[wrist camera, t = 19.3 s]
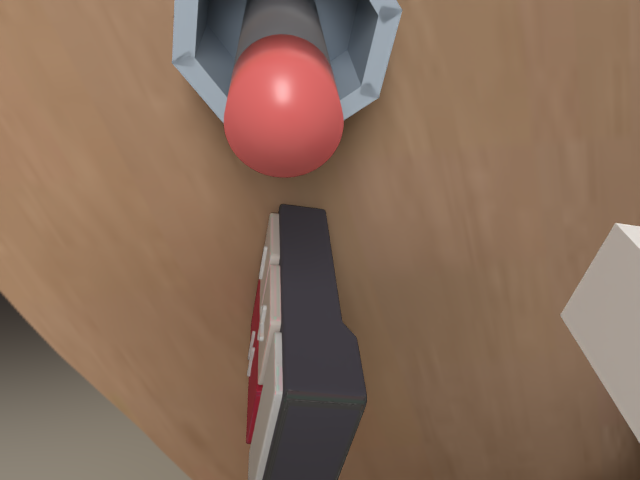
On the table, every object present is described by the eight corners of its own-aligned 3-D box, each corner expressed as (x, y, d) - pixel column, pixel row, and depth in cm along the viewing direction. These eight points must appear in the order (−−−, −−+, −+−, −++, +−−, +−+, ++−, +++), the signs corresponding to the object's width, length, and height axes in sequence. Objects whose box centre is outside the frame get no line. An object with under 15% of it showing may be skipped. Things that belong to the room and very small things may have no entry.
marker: (322, -20, 26) (358, 80, 15) (307, 50, 28) (327, 186, 17) (252, -38, 25) (233, 52, 14) (241, 34, 27) (216, 166, 16)
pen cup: (393, -80, 25) (422, -63, 20) (350, 103, 30) (365, 151, 26) (197, -124, 24) (178, -117, 19) (186, 76, 29) (169, 121, 24)
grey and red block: (267, 199, 34) (266, 394, 22) (334, 207, 35) (369, 401, 22) (247, 324, 40) (237, 531, 28) (304, 329, 41) (318, 532, 29)
